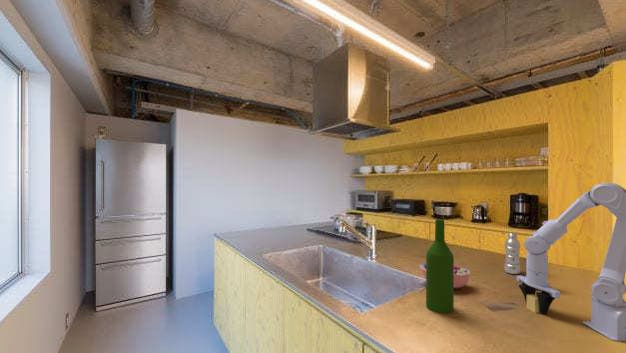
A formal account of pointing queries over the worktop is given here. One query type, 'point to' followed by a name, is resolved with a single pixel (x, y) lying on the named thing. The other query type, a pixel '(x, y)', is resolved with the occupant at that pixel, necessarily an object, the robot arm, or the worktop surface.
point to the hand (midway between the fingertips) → (536, 309)
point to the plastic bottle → (512, 254)
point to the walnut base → (500, 306)
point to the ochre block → (533, 303)
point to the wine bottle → (440, 274)
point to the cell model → (459, 275)
